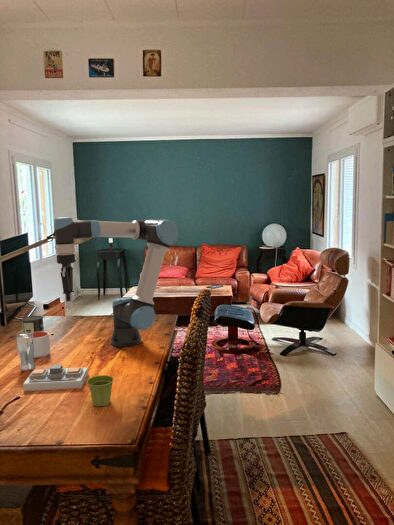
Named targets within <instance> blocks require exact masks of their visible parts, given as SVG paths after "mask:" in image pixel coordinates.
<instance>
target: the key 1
mask: <svg viewBox="0 0 394 525" xmlns="http://www.w3.org/2000/svg"><path fill="white" fill-rule="evenodd" d="M33 370H34V372H33V371H32V372H33V373H32V372H31V373H32V375H43V374H44V373H45V368H42V369H41V368H40V369H33Z"/></svg>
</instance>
